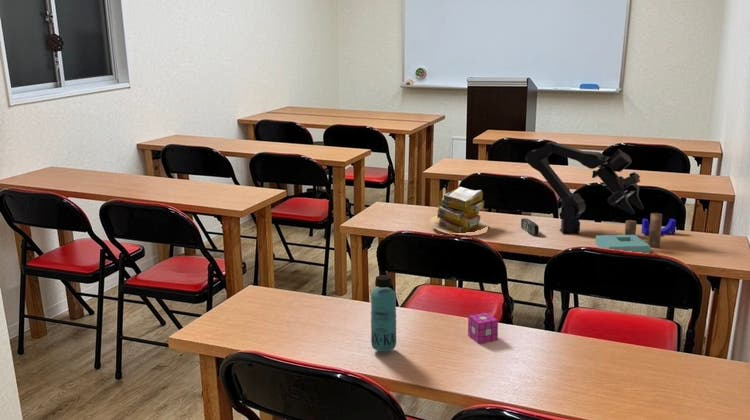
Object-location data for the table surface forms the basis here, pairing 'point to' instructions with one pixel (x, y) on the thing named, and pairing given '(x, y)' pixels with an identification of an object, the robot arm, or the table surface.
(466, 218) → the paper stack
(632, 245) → the teal hole plate
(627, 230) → the short walnut pin
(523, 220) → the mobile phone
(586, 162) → the robot arm
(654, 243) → the tall walnut pin
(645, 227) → the cable clip
